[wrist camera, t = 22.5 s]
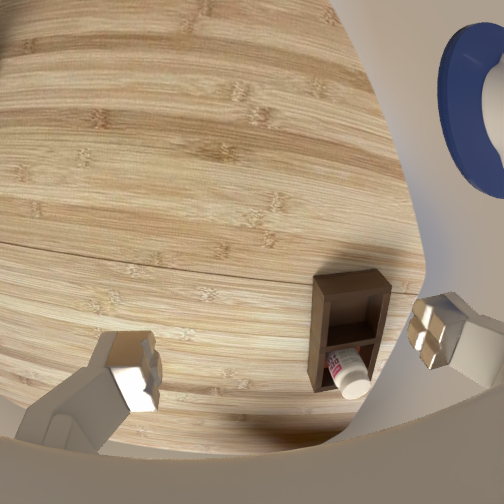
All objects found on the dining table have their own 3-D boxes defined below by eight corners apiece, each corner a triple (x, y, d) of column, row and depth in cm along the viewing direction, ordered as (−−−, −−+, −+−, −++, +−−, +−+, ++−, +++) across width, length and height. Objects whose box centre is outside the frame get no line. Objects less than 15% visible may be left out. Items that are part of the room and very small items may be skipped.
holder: (312, 276, 40) (323, 295, 36) (376, 268, 41) (392, 285, 36) (307, 371, 47) (314, 393, 43) (360, 362, 48) (370, 381, 43)
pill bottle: (322, 340, 43) (341, 382, 36) (354, 333, 44) (376, 373, 36) (322, 363, 45) (338, 405, 38) (352, 357, 46) (371, 396, 38)
